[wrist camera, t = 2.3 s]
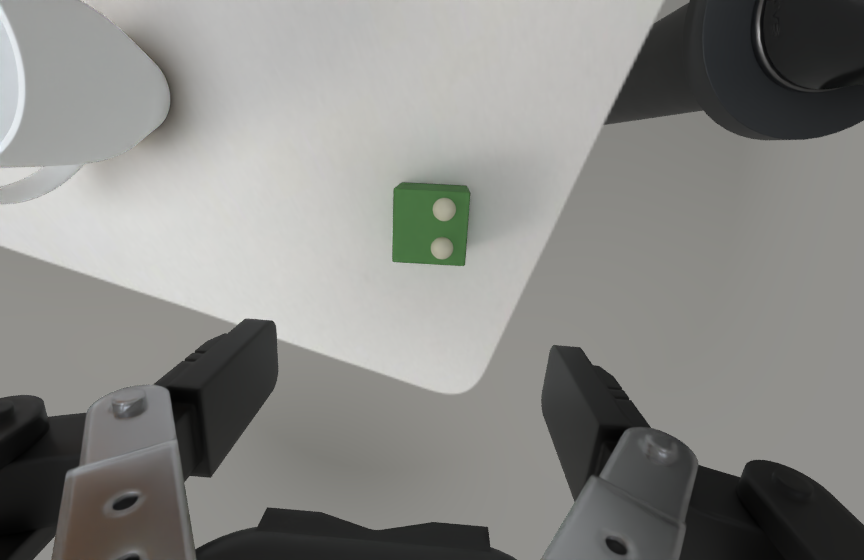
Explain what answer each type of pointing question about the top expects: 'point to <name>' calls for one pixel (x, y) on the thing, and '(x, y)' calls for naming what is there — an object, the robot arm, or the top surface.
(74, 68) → the mug
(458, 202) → the green cube with bumps
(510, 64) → the top surface
